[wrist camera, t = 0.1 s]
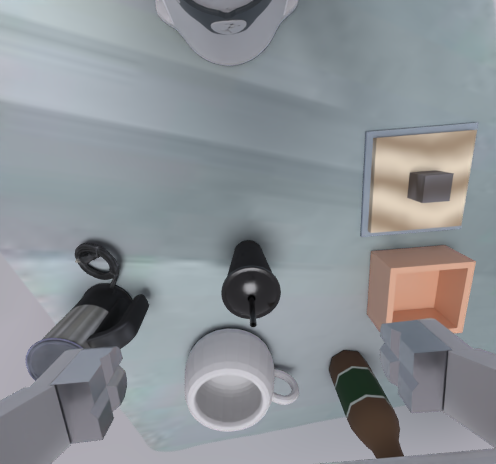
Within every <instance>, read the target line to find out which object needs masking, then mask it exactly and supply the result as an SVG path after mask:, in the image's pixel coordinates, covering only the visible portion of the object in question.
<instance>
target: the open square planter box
mask: <svg viewBox="0 0 496 464" xmlns="http://www.w3.org/2000/svg"><path fill="white" fill-rule="evenodd" d="M475 263H476V261H474V260H472V259H470V258H468V257H466V256H465V255H463V254H461V253H459V252H457V251H455V250H453V249H451V248H449V247H448V246H446V245H439V246H427V247H415V248H402V249H390V250H378V251H371V258H370V274H369V290H368V306H367V315H368V316H369V318H370V319H371V321H372V322H373V323H374V325H375V326H376V328H377V329H378V330H379V332H380V328H381V325H382V324H384V323H393V322H402V321H411V320H418V319H426V318H433V319H436V320H437V321H438V322H440V323H441V324H442V325H443V326H445V327H446V328H447V329H449V330H450V331H451V332H453V333H462V331H463V326H464V321H465V316H466V310H467V305H468V300H469V295H470V290H471V284H472V279H473V274H474V269H475Z"/></svg>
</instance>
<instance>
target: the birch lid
mask: <svg viewBox="0 0 496 464" xmlns="http://www.w3.org/2000/svg"><path fill="white" fill-rule="evenodd" d="M476 133H477V130H465V131H453V132H441V133H429V134H416V135H404V136H392V137H380V138H373V149H372V166H371V183H370V201H369V218H368V231H369V232H370V233H378V232H391V231H403V230H415V229H427V228H439V227H452V226H461V223H462V217H463V211H464V205H465V199H466V193H467V187H468V181H469V175H470V169H471V163H472V157H473V151H474V145H475V139H476Z"/></svg>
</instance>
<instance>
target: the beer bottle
mask: <svg viewBox="0 0 496 464" xmlns="http://www.w3.org/2000/svg"><path fill="white" fill-rule="evenodd" d="M329 372H330V375H331V378H332V381H333V383H334V386H335V389H336V391H337V394H338V397H339V399H340V402H341V405H342V407H343V410H344V413H345V415H346V418H347V420H348V422H349V424H350V427H351V429H352V430H353V431H354V433H355V434H356V435H357V436H358V438H359V439H360V440H361V441H362V442H363V443H364V444H365V445H366V447H368V448H369V449H370V450H372V452H373V453H374V455H375V457H376V458H377V459H379V458H391V457H402V456H404V455H403V453H402V450H401V447H400V444H399V432H400V427H399V421H398V418H397V416H396V414H395V411H394V409H393V407H392V406H391V404H390V402H389V400H388V399H387V397H386V395H385V393H384V391H383V390H382V388H381V386H380V384H379V383H378V381H377V379H376V377H375V375H374V374H373V372H372V370H371V368H370V367H369V365H368V364H367V362H366V361H365V359H364V358H363V357H362V356H361V355H360V353H359V352H357V351H347V350H343V351H342V352H340V353H338V354H337V355H335V356H333V357H332V360H331V364H330V367H329Z"/></svg>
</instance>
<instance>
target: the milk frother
mask: <svg viewBox="0 0 496 464" xmlns="http://www.w3.org/2000/svg"><path fill="white" fill-rule="evenodd" d="M100 256H101V257H102V258H103V259H105V260H106V261H107V262H108V264H109V267H110V271H109V272H108V273H102V272H98V271H96V270H94V269H92V268H91V267H89V266H88V265H87V264H88V263H89V262H90V261H92V260H95V259H96V258H99V257H100ZM75 258H76V261H75V262H76V263H78V264H79V266H80V267H81V268H82V269H83V270H84V271H85V272H86V273H87V274H89V275H91V276H93V277H95V278H98V279H102V280H108V279H112V278H113V280H112V282H111V284H98V285H95V286H93V287H91V288H90V289H88V290H87V291H86V292H85V294H84V296H83V298H82V299H81V300H80V301H79V302H78V303H77V304H76V305H75V307H74V308H73V309H72V310H70V312H69V313H68V314H67V315H66V316H65V317H64V318H63V319H62V320H61V321H60V322H59V323H58V324H57V325H56V326H55V327H54V328H53V329H52V330H51V331H50V332H49V333H48V334H47V335H46V336H45V337H44V338H43V339H42V340H41V341H38V342H36V343H35V344H34V345H32V346H31V347H30V349H29V350H28V352H27V355H26V366H27V369H28V372H29V374H30V375H31V377H32V378H33V379H34V380H35V381H36V380H37V379H38V378H39V377H40V376H41V375H42V374H43V373H44V372H45V371H46V370H47V369H48V368H49V367H50V366H51V365H52V364H53V363H54V362H55V361H56V360H57V359H58V358H59V357H60V356H61V355H62V354H63V353H64V352H65V351H67V350H72V349H81V348H84V349H85V348H98V347H113V346H117V347H118V348H120V349H121V348H123V347H124V346H125V345H127V344H128V343H129V342H130V341H131V340H132V339H133V338H134V337H135V336H136V334H137V332H138V330H139V328H140V326H141V323H142V321H143V319H144V317H145V314H146V312H147V310H148V307H149V304H148V301H147V300H146V298H145V296H144V295H142V294H140V295H137V296H136V297H135V298H134V299H133V301H132V299H131V297H130V296H129V295H128V293H127V292H126V291H124V290H123V289H122V288H119V287H118V286H115V283H116V281H117V277H118V273H119V266H118V263H117V261H116V260H115V258H114V257H113V256H112V255H111V254H110V253H109V252H108V251H107V250H105V249H103V248H102V247H99V246H97V245H94V244H90V243H84V244H81V245H80V246H78V247H77V248H76V250H75Z"/></svg>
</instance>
